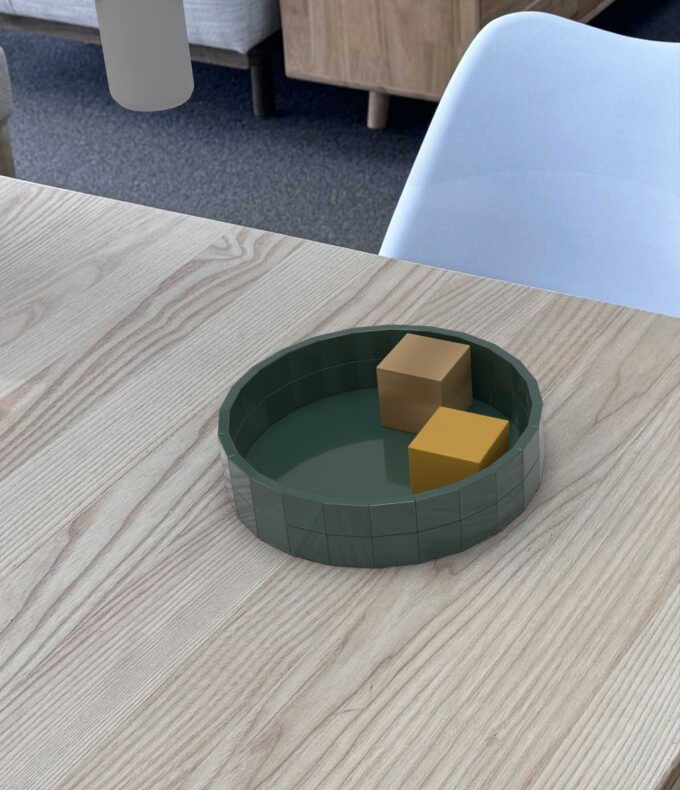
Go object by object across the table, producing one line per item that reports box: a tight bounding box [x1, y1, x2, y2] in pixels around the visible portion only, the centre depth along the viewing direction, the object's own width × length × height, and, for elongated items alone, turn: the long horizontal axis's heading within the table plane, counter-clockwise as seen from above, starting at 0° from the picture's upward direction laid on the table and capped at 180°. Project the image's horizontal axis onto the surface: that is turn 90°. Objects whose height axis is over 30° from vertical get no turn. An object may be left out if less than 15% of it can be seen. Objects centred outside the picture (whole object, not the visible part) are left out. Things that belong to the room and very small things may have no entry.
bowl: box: [216, 323, 545, 569], centre depth 76 cm, size 17×17×4 cm
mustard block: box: [408, 407, 510, 495], centre depth 73 cm, size 4×4×4 cm
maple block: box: [376, 333, 473, 434], centre depth 80 cm, size 4×4×4 cm
